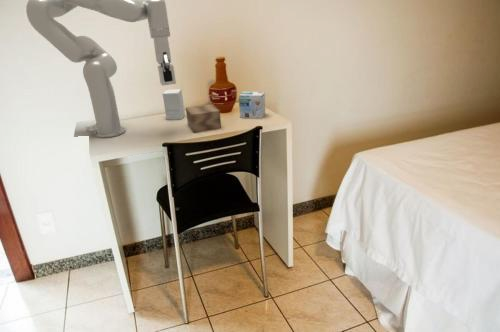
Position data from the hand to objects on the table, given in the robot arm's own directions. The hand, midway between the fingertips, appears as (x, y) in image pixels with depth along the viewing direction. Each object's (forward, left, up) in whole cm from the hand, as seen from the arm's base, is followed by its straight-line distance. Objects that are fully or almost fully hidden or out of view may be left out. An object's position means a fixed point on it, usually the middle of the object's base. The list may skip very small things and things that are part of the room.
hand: (167, 79), depth 161 cm
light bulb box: (+37, +3, -22) cm, 43 cm away
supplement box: (+4, +19, -22) cm, 30 cm away
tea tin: (0, 0, -2) cm, 2 cm away
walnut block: (+13, -1, -22) cm, 26 cm away
